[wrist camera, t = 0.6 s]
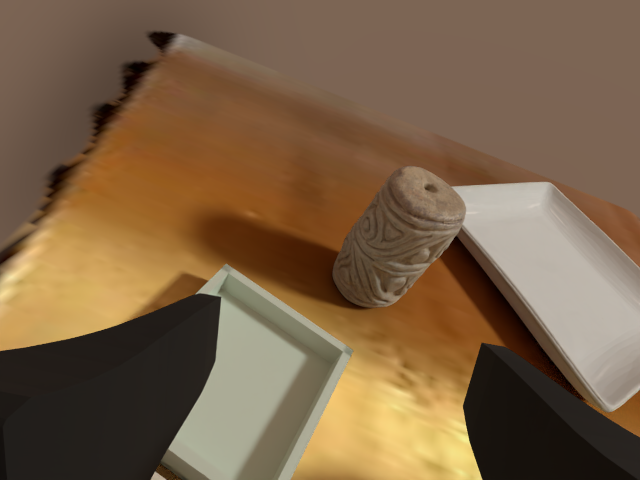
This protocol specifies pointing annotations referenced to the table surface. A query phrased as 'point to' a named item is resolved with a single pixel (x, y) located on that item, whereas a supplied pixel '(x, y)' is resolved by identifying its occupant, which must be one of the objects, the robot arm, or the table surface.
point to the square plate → (560, 283)
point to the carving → (398, 237)
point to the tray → (257, 388)
